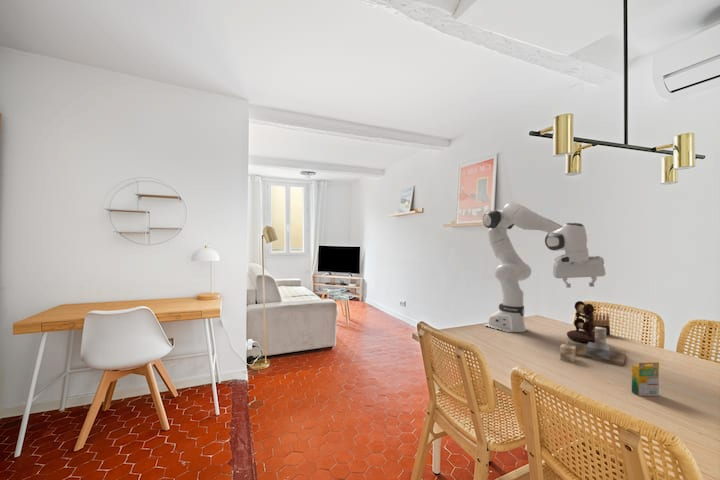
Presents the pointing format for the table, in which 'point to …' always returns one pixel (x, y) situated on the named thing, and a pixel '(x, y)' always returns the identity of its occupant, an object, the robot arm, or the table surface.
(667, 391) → the table surface
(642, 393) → the crayon box
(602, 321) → the ammunition clip
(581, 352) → the building board
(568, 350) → the maple block
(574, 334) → the dark brown rounded figure
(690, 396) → the table surface
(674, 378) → the table surface
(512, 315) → the robot arm
